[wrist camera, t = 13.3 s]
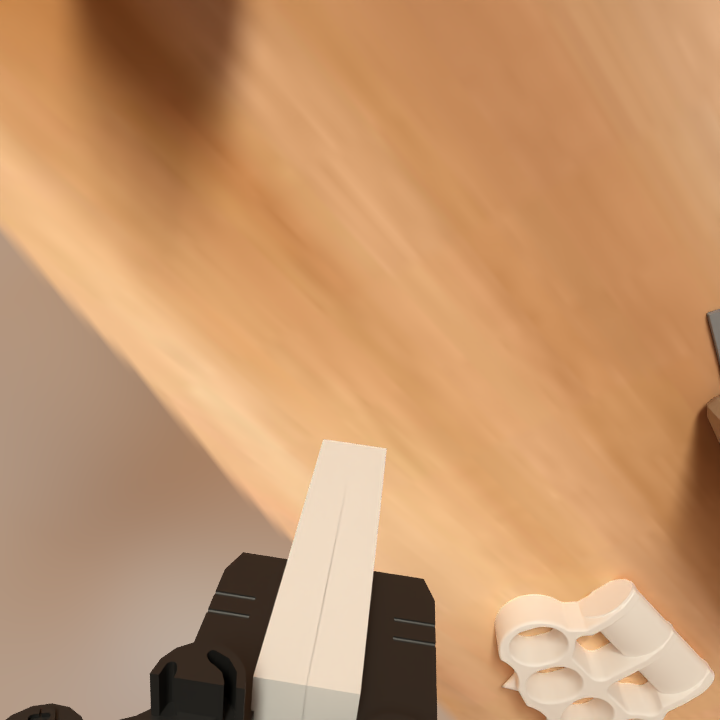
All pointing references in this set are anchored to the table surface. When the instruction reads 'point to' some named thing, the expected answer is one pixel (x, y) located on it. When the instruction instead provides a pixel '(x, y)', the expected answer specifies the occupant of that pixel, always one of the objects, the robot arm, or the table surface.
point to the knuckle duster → (598, 656)
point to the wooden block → (714, 415)
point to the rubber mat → (715, 329)
